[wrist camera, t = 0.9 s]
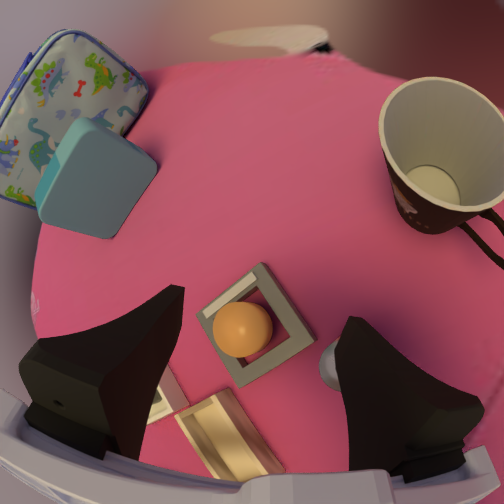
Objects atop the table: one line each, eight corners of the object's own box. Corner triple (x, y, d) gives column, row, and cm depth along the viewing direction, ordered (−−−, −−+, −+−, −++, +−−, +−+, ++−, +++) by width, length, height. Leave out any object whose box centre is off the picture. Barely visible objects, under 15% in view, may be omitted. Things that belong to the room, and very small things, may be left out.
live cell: (382, 354, 20) (383, 373, 14) (348, 378, 21) (336, 404, 15) (359, 321, 22) (353, 328, 16) (325, 345, 22) (306, 360, 17)
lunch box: (138, 76, 41) (54, 15, 23) (167, 87, 37) (65, 9, 18) (61, 196, 45) (-32, 163, 26) (75, 227, 40) (-38, 194, 22)
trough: (285, 470, 21) (276, 483, 19) (240, 485, 23) (228, 496, 20) (229, 387, 25) (214, 394, 23) (189, 408, 27) (174, 415, 24)
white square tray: (190, 404, 27) (173, 411, 24) (152, 423, 28) (136, 429, 26) (159, 347, 29) (141, 350, 27) (126, 372, 31) (109, 375, 28)
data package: (147, 151, 35) (79, 111, 25) (163, 166, 34) (88, 123, 23) (101, 222, 37) (29, 200, 26) (112, 241, 35) (34, 221, 25)
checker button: (282, 335, 23) (274, 338, 21) (242, 362, 24) (230, 367, 22) (254, 291, 24) (243, 290, 22) (216, 320, 25) (203, 321, 23)
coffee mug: (373, 157, 23) (362, 83, 14) (459, 148, 20) (484, 76, 11) (392, 291, 21) (403, 284, 12) (487, 278, 17) (546, 263, 8)
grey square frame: (317, 339, 23) (313, 342, 21) (245, 385, 25) (237, 389, 23) (265, 263, 26) (258, 261, 24) (202, 314, 28) (193, 314, 26)
